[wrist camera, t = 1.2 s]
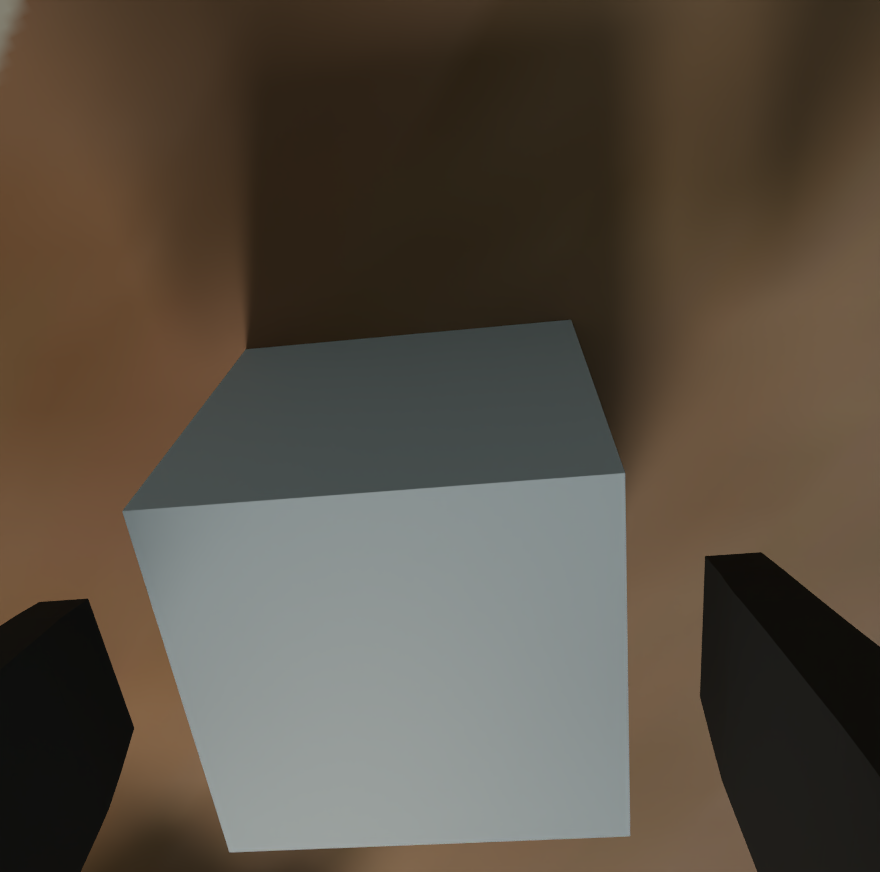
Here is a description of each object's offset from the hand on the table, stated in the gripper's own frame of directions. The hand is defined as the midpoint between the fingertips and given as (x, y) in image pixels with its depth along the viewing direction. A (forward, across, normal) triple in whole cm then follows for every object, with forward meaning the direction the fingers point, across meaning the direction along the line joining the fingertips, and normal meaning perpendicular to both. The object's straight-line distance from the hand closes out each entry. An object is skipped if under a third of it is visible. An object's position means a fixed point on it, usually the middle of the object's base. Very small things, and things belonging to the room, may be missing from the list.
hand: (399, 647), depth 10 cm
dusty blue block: (+4, 0, 0) cm, 4 cm away
